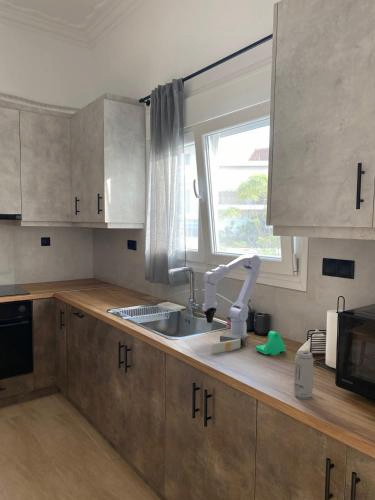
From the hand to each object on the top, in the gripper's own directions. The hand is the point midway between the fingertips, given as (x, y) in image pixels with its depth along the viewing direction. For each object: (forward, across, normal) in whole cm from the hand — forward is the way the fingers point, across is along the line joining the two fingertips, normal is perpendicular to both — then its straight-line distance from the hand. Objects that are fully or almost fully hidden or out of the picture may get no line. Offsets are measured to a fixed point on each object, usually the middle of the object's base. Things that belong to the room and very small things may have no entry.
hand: (209, 322), depth 193 cm
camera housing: (+9, 0, +12) cm, 15 cm away
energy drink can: (+10, +42, +54) cm, 69 cm away
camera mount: (+10, +1, +31) cm, 33 cm away
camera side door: (+9, +10, +14) cm, 19 cm away
